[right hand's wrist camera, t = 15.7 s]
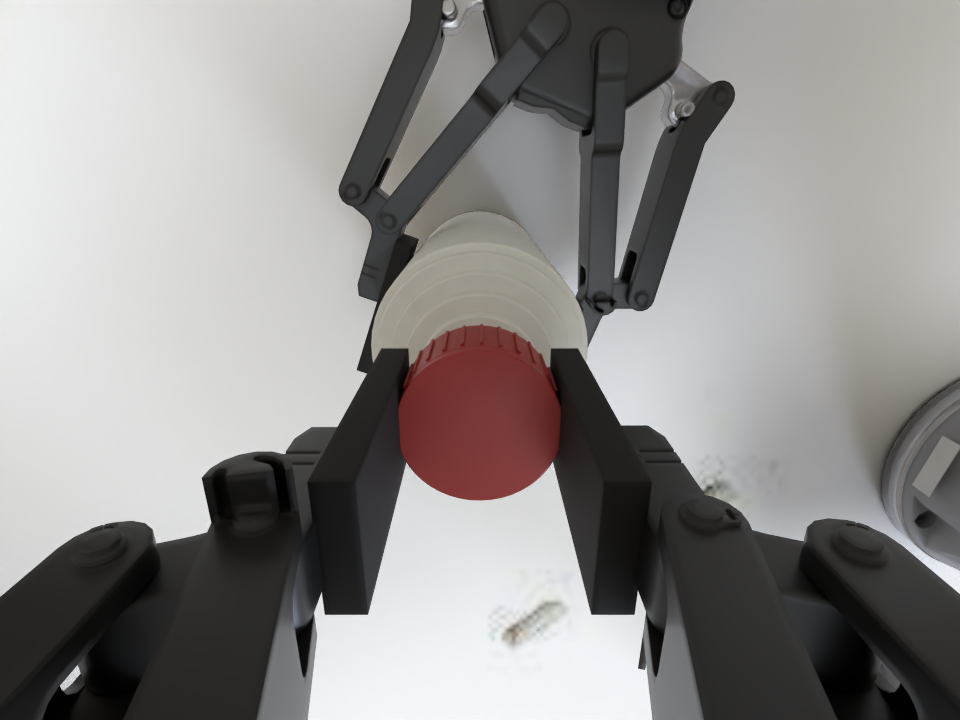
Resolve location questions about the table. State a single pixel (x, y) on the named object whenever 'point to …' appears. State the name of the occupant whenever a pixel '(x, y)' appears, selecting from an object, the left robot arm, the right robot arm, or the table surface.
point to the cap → (479, 414)
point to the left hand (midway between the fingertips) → (447, 388)
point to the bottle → (479, 290)
